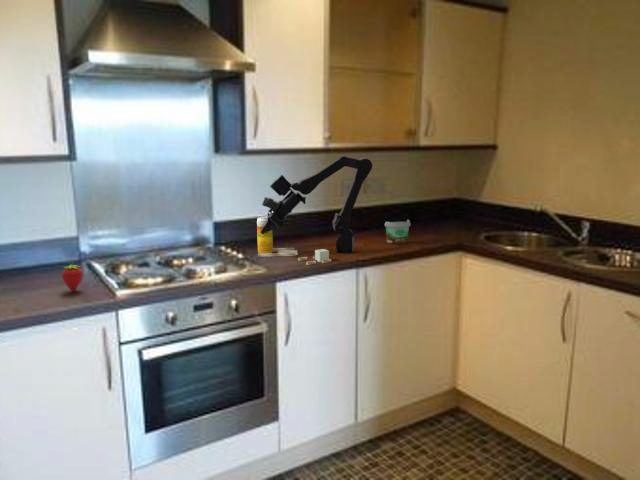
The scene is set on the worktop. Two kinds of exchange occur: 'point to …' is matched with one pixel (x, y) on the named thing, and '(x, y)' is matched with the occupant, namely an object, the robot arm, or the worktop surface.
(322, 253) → the sage cube
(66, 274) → the strawberry
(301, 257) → the broken lane
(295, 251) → the mat
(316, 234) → the worktop surface
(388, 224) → the food container
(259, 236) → the yellow tall cylinder
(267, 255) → the lane
